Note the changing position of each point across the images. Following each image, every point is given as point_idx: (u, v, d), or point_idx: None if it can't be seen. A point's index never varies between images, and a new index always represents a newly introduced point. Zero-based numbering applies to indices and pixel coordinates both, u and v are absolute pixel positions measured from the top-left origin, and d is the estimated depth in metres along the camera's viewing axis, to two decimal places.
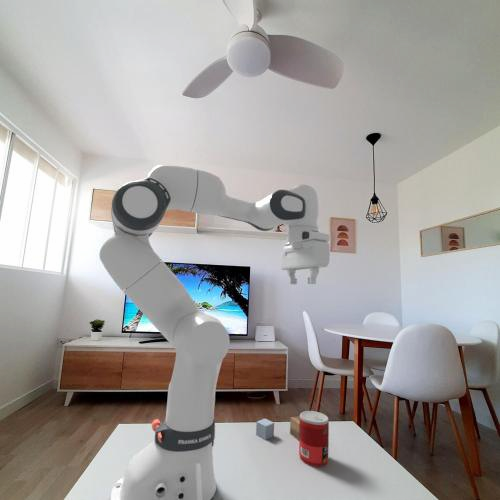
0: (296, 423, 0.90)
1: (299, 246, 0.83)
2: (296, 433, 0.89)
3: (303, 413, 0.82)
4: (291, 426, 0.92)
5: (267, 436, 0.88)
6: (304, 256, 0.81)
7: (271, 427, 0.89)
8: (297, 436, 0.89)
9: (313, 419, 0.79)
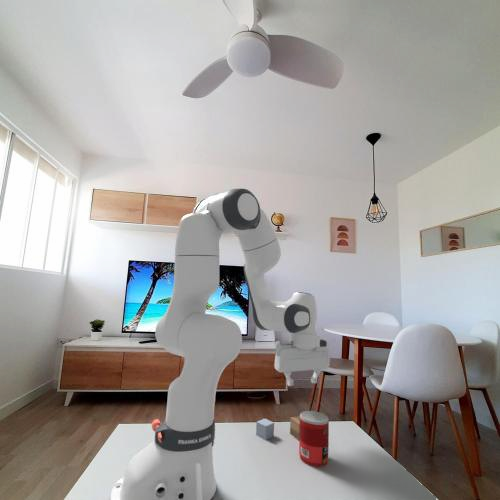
0: (296, 423, 0.90)
1: (312, 351, 0.94)
2: (296, 433, 0.89)
3: (303, 413, 0.82)
4: (291, 426, 0.92)
5: (267, 436, 0.88)
6: (314, 360, 0.94)
7: (271, 427, 0.89)
8: (297, 436, 0.89)
9: (313, 419, 0.79)
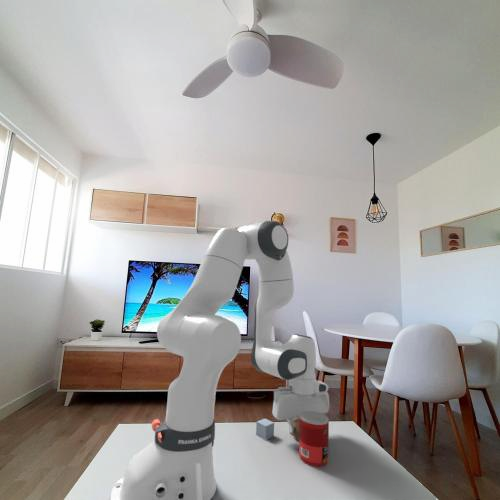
0: (296, 423, 0.90)
1: (311, 396, 0.91)
2: (296, 433, 0.89)
3: (303, 413, 0.82)
4: None
5: (267, 436, 0.88)
6: (313, 405, 0.92)
7: (271, 427, 0.89)
8: (297, 436, 0.89)
9: (313, 419, 0.79)
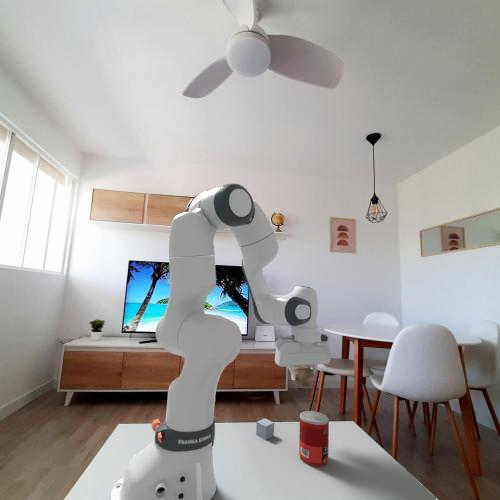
0: (298, 371, 0.91)
1: (313, 346, 0.92)
2: (298, 380, 0.90)
3: (303, 413, 0.82)
4: None
5: (267, 436, 0.88)
6: (315, 355, 0.93)
7: (271, 427, 0.89)
8: (299, 383, 0.89)
9: (313, 419, 0.79)
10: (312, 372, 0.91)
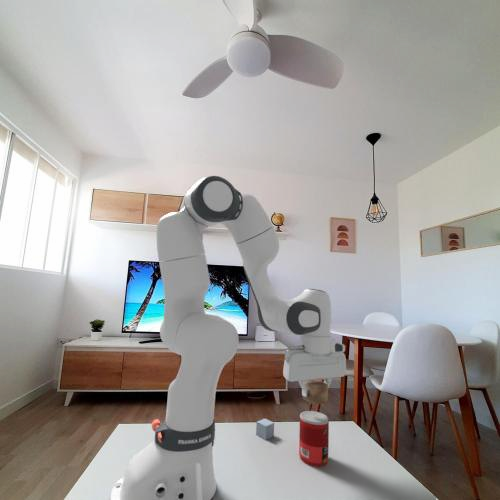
0: (310, 385, 0.80)
1: (326, 357, 0.81)
2: (310, 396, 0.79)
3: (303, 413, 0.82)
4: None
5: (267, 436, 0.88)
6: (329, 367, 0.82)
7: (271, 427, 0.89)
8: (311, 399, 0.78)
9: (313, 419, 0.79)
10: (326, 387, 0.80)
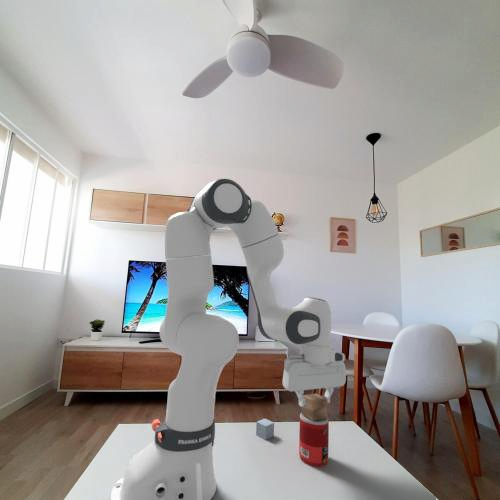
0: (309, 401, 0.79)
1: (326, 366, 0.81)
2: (309, 412, 0.79)
3: None
4: None
5: (267, 436, 0.88)
6: (328, 376, 0.82)
7: (271, 427, 0.89)
8: (310, 415, 0.78)
9: None
10: (325, 402, 0.79)
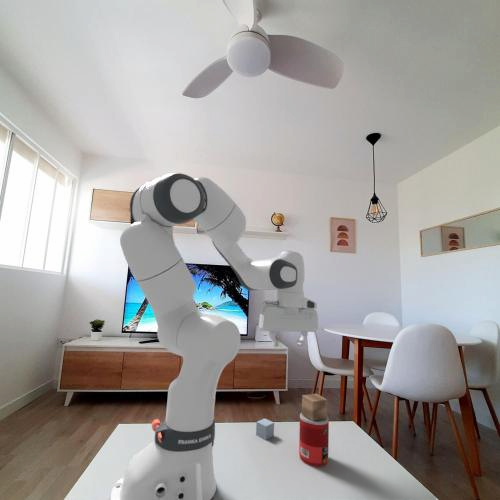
0: (309, 401, 0.79)
1: (298, 312, 0.90)
2: (309, 412, 0.79)
3: None
4: (303, 405, 0.81)
5: (267, 436, 0.88)
6: (301, 322, 0.90)
7: (271, 427, 0.89)
8: (310, 415, 0.78)
9: None
10: (325, 402, 0.79)
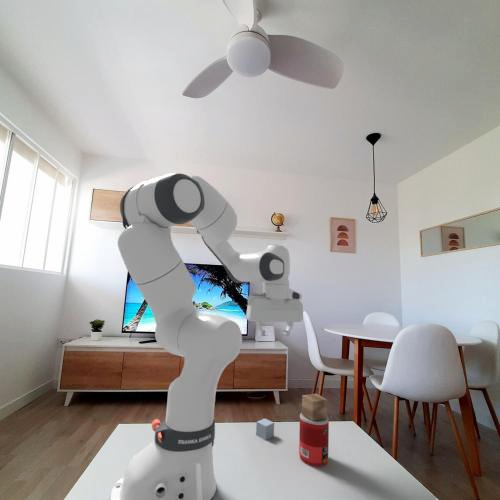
0: (309, 401, 0.79)
1: (284, 303, 0.94)
2: (309, 412, 0.79)
3: None
4: (303, 405, 0.81)
5: (267, 436, 0.88)
6: (287, 312, 0.95)
7: (271, 427, 0.89)
8: (310, 415, 0.78)
9: None
10: (325, 402, 0.79)
